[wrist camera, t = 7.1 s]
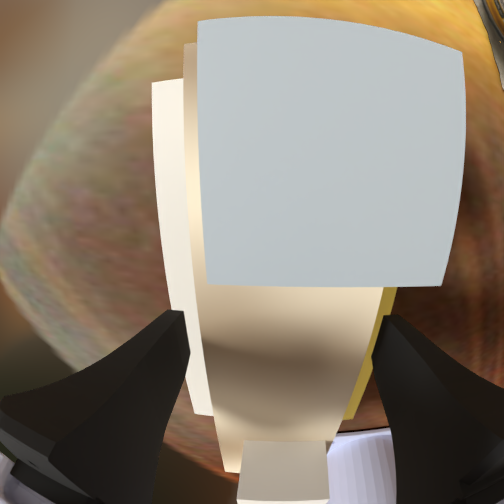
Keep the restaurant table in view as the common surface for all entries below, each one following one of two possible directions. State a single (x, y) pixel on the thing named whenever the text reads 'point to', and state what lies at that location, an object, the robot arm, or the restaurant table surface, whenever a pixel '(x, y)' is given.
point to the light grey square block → (327, 153)
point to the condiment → (494, 28)
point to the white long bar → (271, 336)
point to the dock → (179, 249)
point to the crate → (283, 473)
